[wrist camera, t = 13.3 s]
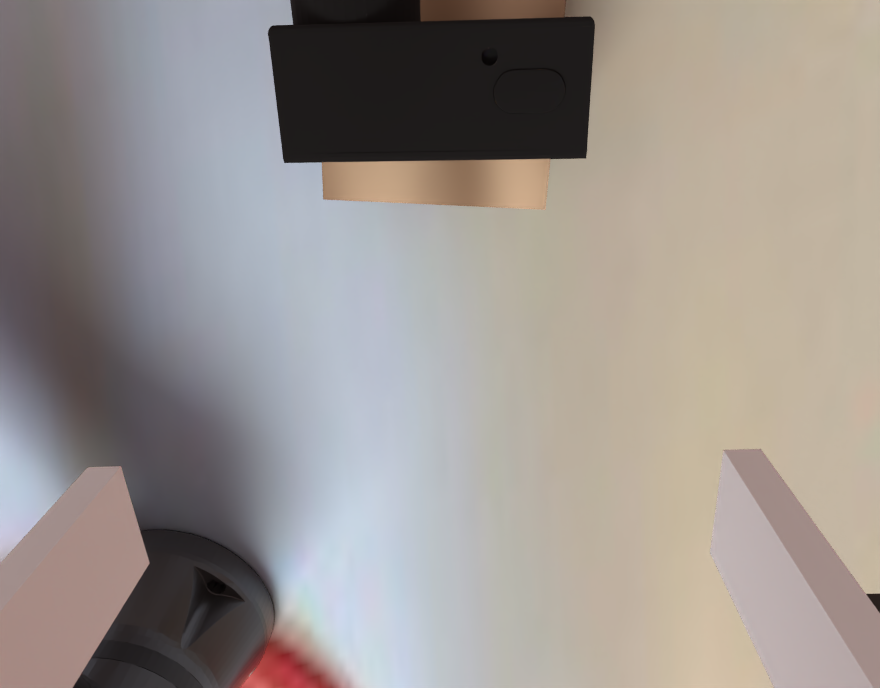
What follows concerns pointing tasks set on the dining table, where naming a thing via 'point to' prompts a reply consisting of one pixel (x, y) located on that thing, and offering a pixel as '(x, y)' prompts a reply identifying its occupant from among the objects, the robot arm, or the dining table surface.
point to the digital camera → (428, 84)
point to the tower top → (454, 178)
